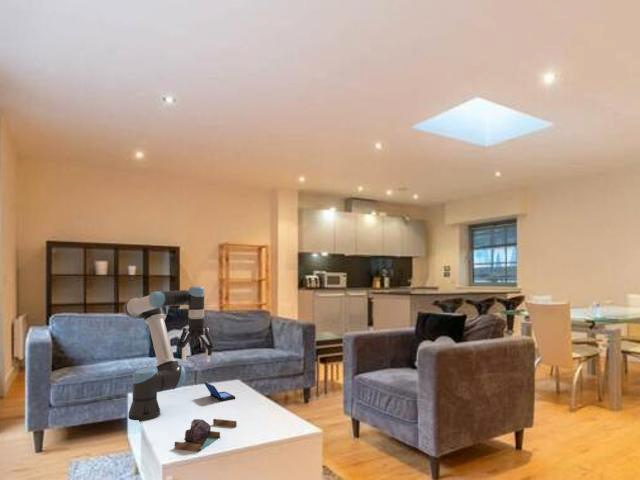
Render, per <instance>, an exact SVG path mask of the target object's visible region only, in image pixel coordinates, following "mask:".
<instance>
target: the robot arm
mask: <svg viewBox="0 0 640 480" xmlns="http://www.w3.org/2000/svg"><path fill="white" fill-rule="evenodd" d="M177 306H188V320H187V322H188V323H187V324H188V327H187V326H186V327H182V332H181V335H180V337H179V340H178V341H177V347H180V355H181V362H185V361H187V344H188V343H189V342H190V340H191V339H192V338H199V339H200V340H201V341H202V343H203V344H204V345H205V347H206V348H205V364H206V363H207V364H208V363H210V362H211V356H212V349H213V348H215V347H216V343H215V340H214V339H213V336H212V333H211V329H210V328H209V327H206V328H205V327H204V326H205V318H204V317H205V288H204V287H203V286H190V287H188V289H182V290H166V291H165V290H164V291H163V290H161V291H160V290H159V291H157V290H156V291H152V292H151V293H150V294H149V295H146V296H143V297H133V298H130V299H128V300H127V301H125V303H124V305H123V312H124V314H125V315H126V316H127V317H128V318H131V319H135V320H138V319H139V320H140V319H143V321H144V323H145V324H146V325H148V328H149V333H150V336H151V340H152V344H153V350H154V354H155V357H156V361H157V365H156V366H149V367H148V366H147V367H144V368H140V369H137V370H135V371H134V373H133V374H132V381H131V383H132V401H131V404H130V408H129V411H128V415H127V416H128V419H129V420H131V421H146V420H152V419H155V418H157V417H159V416H160V415H161V408H160V405H159V402H158V393H160V392H161V393H162V392H166V391H171V390H175V389H179V388H181V387H182V386H183V385H184V384H185V380H186V369H185V367H184V365H181V364H180V363H179V361H178V360H177V359H175V357H174V353H173V348H172V346H171V345H172V344H171V340H170V337H169V333H168V329H167V326H166V322H165V321H166V318H167V315H168V313H169V307H177Z"/></svg>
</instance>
